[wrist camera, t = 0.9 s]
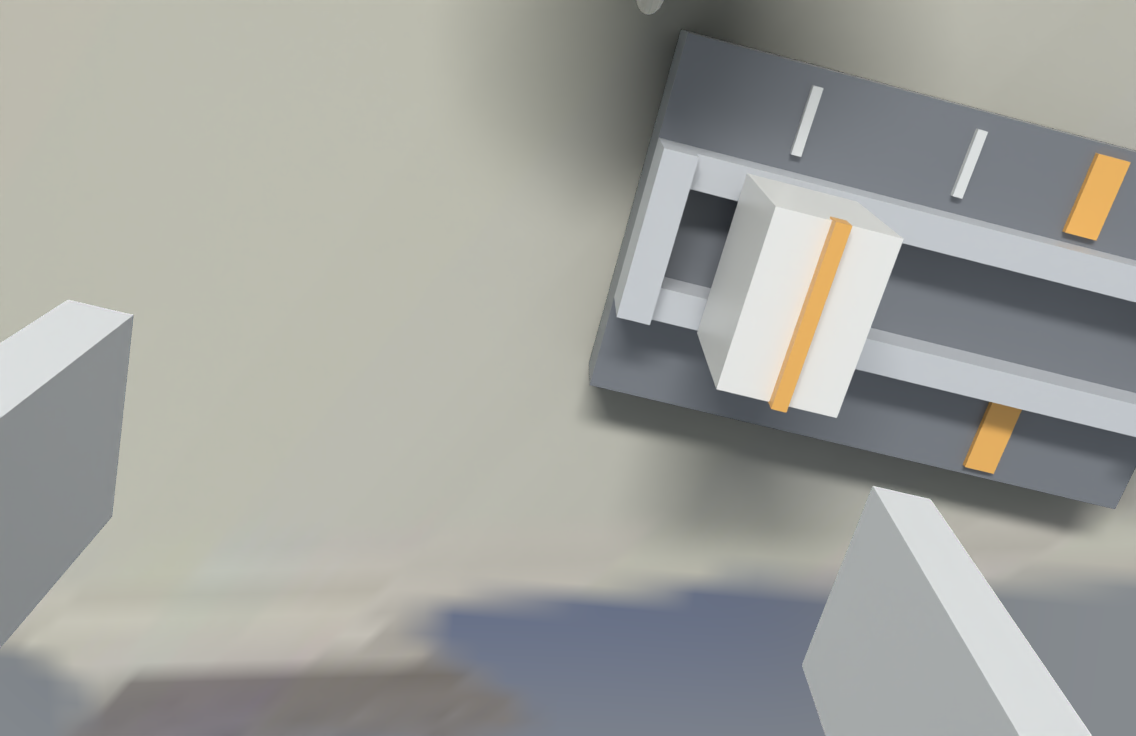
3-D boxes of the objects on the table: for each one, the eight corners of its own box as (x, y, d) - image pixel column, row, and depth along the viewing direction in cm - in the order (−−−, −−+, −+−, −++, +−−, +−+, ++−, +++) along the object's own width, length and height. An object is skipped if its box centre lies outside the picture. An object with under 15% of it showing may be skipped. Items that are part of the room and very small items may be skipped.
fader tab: (690, 317, 32) (717, 396, 26) (738, 161, 30) (778, 207, 24) (790, 342, 32) (839, 425, 26) (843, 188, 30) (909, 240, 25)
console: (588, 363, 35) (590, 409, 31) (680, 29, 31) (695, 36, 27) (1087, 481, 36) (1146, 539, 33) (1232, 176, 33) (1318, 202, 29)
